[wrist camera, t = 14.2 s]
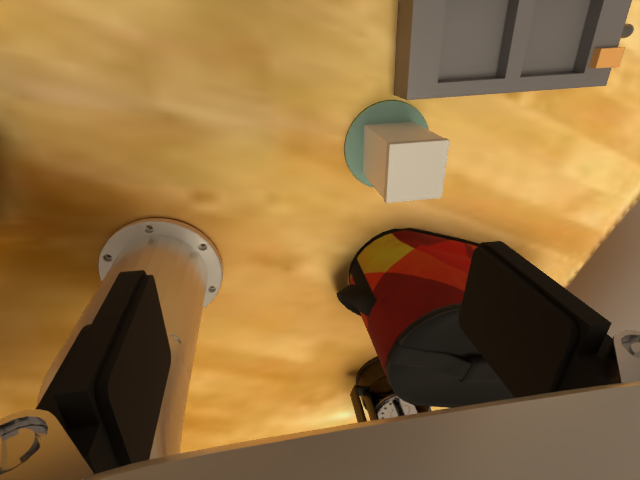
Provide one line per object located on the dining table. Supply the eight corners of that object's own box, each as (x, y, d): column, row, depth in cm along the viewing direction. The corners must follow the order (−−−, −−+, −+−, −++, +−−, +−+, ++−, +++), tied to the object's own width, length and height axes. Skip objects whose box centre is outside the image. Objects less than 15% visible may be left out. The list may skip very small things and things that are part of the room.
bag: (558, 261, 51) (678, 349, 37) (505, 338, 56) (592, 439, 42) (356, 211, 42) (411, 300, 28) (318, 307, 48) (348, 422, 34)
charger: (412, 120, 38) (449, 140, 31) (408, 169, 40) (441, 197, 33) (363, 124, 37) (389, 144, 30) (362, 173, 40) (386, 203, 33)
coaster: (423, 182, 42) (425, 184, 41) (344, 190, 41) (345, 192, 40) (432, 97, 37) (433, 97, 37) (343, 103, 36) (344, 104, 36)
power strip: (640, -24, 35) (687, -32, 31) (609, 79, 40) (646, 84, 36) (399, -17, 32) (418, -23, 29) (393, 94, 37) (410, 101, 33)
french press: (430, 357, 56) (531, 537, 36) (404, 400, 59) (483, 584, 39) (357, 348, 52) (424, 540, 32) (336, 394, 56) (383, 592, 36)
